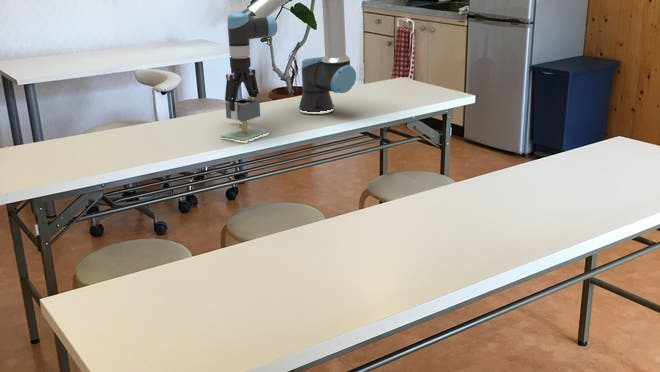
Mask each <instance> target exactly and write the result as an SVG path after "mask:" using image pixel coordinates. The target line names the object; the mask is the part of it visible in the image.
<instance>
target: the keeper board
mask: <svg viewBox="0 0 660 372" xmlns="http://www.w3.org/2000/svg"><path fill="white" fill-rule="evenodd" d="M247 121H248V120H247ZM247 121H241V123H242V125H241V128H239V129H236V130H234V131H231V132H227V133H224V134H220V138H221V137H222V138H228V139H234V140H240V141H246V140H249V139H252V138H255V137H258V136H260V135H263V134H266V133H268V132H269V130H263V129H257V128H251V127H248V123H247Z"/></svg>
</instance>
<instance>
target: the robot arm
mask: <svg viewBox="0 0 660 372" xmlns="http://www.w3.org/2000/svg"><path fill="white" fill-rule="evenodd" d="M288 1H289V0H255V1H254V2H253V3H251V4H250V5H249V6H248V7H247V8H246V9H244V10H243V11H242V12H239V13H235V12H234V13H229V15H227V35H228V36H227V37H228V48H229V49H228V50H229V57H230V58H229V65H230V69H232V70H231V73H227V74H226V75H225V78H226V79H225V81H226V84H225V93H224V94H225V95H224V101H225V102H229V103H230V111H231V120H236V121H239V120H238V110H237V102H235V101H236V99H237V96H238V93H239V90H240V89H239V88H240V86H241V84H242V83H243V84H244V87H245V90H246V92H247V94H248V97H247V99H251V100H256V98H257V97H258V95H259V93H260V92H259V88H258V83H257V79H256V70H255V69H251V65H252V64H251V57H250V56H251V47H250V44H251V42H250V40H255V39H263V38H270V37H271V38H272V37H274V36H275V35H276V34H277V33H278V22H277V20H276V19H275V17H273V16H270V15H272V14H273V13H274V12H276V11H277V10H278V9H279V8H280V7H282V6H283V5H284V4H286V3H287V2H288ZM321 3H322V18H323V19H322V21H323V39H324V41H323V42H324V44H323V45H324V56H319V57H311V58H304V59H303V60H302V61H301V83H302V95H301V98H300V103H299V105H298V110H299V109H300V110H302V111H307V112H320V111H327V110H331V109H333V108H334V109H335V105H334V103H333V99H332V96H331V92H333V93H336V94H345V93H349V91H350V90H351V89H352V88H353V86H354V85H355V83H356V81H357V72H356V69H355V68H354V67H353V66H352V65H351V59H350V57H349V56H348V55H347V49H346V47H347V46H346V27H345V25H346V24H345V23H346V22H345V21H346V20H345V2H344V0H322V1H321Z"/></svg>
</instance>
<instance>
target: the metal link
mask: <svg viewBox="0 0 660 372" xmlns="http://www.w3.org/2000/svg"><path fill="white" fill-rule="evenodd" d="M235 102H237V110H238V120H237V121H240V120H241V121H250V120H252V119H255V118H259V117H261V102H260V100H256V99H255V100H251V99H248V98H246V97H245V98H244V97H241V98H240V97H239V98H236V101H235ZM225 115H226V119H231V111H230V103H229V102H227V101H225ZM231 120H232V119H231Z"/></svg>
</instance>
